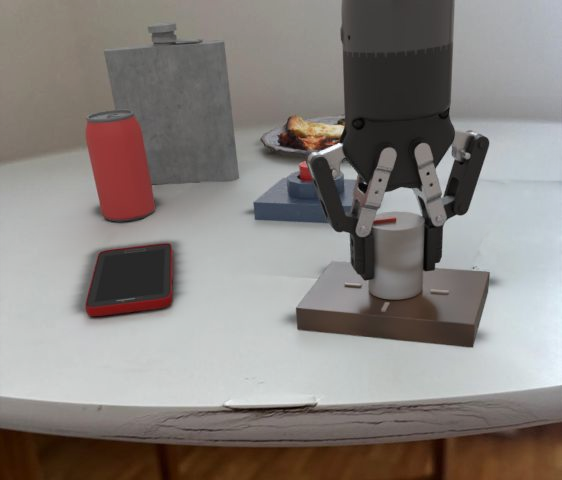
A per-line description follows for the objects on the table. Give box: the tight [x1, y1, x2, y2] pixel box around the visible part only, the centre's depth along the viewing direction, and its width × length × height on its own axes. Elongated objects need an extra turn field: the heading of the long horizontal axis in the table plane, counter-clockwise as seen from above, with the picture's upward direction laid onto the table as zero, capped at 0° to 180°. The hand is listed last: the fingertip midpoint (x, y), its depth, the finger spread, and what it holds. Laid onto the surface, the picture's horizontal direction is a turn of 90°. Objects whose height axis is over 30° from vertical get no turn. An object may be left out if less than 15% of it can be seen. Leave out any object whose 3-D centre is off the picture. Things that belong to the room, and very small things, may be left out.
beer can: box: [85, 109, 156, 223], centre depth 84 cm, size 7×7×12 cm
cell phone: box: [84, 242, 174, 317], centre depth 67 cm, size 8×15×1 cm, turn 8°
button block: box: [252, 170, 357, 224], centre depth 82 cm, size 12×10×4 cm
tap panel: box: [295, 260, 491, 349], centre depth 58 cm, size 14×10×2 cm
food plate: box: [259, 113, 345, 156], centre depth 108 cm, size 25×23×4 cm
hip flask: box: [103, 22, 240, 186], centre depth 93 cm, size 16×4×20 cm, turn 83°
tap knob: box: [368, 211, 425, 300], centre depth 56 cm, size 4×4×6 cm
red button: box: [298, 160, 312, 181], centre depth 81 cm, size 4×4×2 cm
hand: (396, 271), depth 56 cm, fingers closed on tap knob, 4 cm apart
